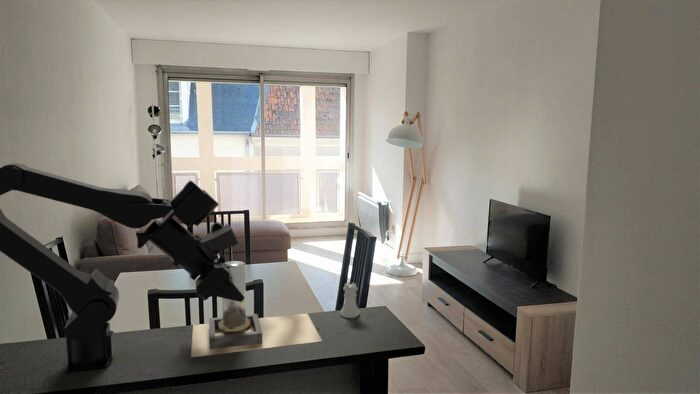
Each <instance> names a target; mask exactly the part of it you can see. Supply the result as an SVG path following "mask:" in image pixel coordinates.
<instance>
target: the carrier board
mask: <svg viewBox="0 0 700 394" xmlns="http://www.w3.org/2000/svg"><path fill="white" fill-rule="evenodd" d="M246 318H248V319H249V320H250V329H249V330H248V331H247V332H245V333H238V334H229V335H225V334H222V333H220V332H219V327H218V324H219V322H220V321H221V320H222V319H223V316H220V317H209V318H208V323H202V324H201V323H200V324H193V325H192V337H191V350H190V352H191V353H190V358H196V357H197V358H198V357H205V356H206V357H207V356H213V355H220V354H229V353H238V352H245V351H246V352H248V351H255V350H263V349H270V348H271V349H272V348H279V347H280V348H281V347H286V346H287V347H288V346H295V345H297V346H298V345H305V344H312V343H318V342H319V343H320V342H323V340H322V338H321V335H320V334H319V333H318V330H317V328H316V327H315V325H314V323H313V321H312V320H311V317H310V316H309V313H299V314H290V315H289V314H287V315H278V316H268V317H259V316H258V314H257V313H250V314H246Z"/></svg>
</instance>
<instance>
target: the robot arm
mask: <svg viewBox="0 0 700 394" xmlns="http://www.w3.org/2000/svg"><path fill="white" fill-rule="evenodd" d="M11 191H17V192H21V193H25V194H29V195H32V196H37V197H41V198H44V199H48V200H51V201H52V200H53V201H56V202H60V203H63V204H68V205H71V206H76V207H79V208H82V209H87V210H90V211H94V212H96V213H98V214H100V215H102V216H104V217H105V218H107V219H109V220H111V221H113V222H115V223H118V224H119V225H123V226H124V227H127V228H130V229H136V233H135V236H136V239H137V245H136V248H137V249H142V248H143V247H144V246H145V245H146V244H147V243H148V242H149V243H151V244H152V245H153V246H155V248H157V249H158V250H159V251H161V252H162V253H163V254H164V255H166V256H167V257H168V258H169V259H171V263H172V265H175V266H176V267H178V266H179V267H180V268H182V269H183V270H184V271H185V272H187V273H188V274H189V278H190V279H192V280H193V281H195V282H194V283H195V287H194V288H195V294H196V295H197V296H198V297H199V298H200V299H202V300H203V301H204V302H205V301H207V300H208V299H209V298H210V297H211V296H212V297H217V298H226V299H230V300H234V301H239V302H242V301H243V300H244V298H245V297H244V296H243V295H242V293H241V292H240V291H239V290H238V288H237V287H236V286H235V285H234V284H233V282H232V281H231V280H230V279H229V275H230V270H229V268H228V266H227V267H226V266H225V265H223V263H225V262H226V258H225V256H224V254H222V252H223V251H225V250H227V249H228V248H230V247H234V246H236V245H238V244H239V240H238V238H237V236H236V234H235V232H234V230H233V229H232V226H231V225H230V224H225V225H223V224H221V223H220V222H218V221H217V222H215V223H212V224H210V232H209V233H208V232H207V235H205V236H203V237H202V236H200V235H199V234H198V233H196V234H195V233H194V234H193V233H191V232H190V231H189V230H188V229H187V228H186V227H189V228H190V227H194V225H195V226H196V227H199V226H200V225H201V224H202V223H203V222H204V220H205V219H207V217H209V216H210V214H212V212H213V211H215V209H216V208H217V207H218V206H220V204H219V203H218V201H216V200H215V199H214V198H213V196H211V195H210V194H209V193H208V192H207V191H206V190H204V189H202V188H201V187H200V186H198V184H196V183H195V182H194V181H192V180H188V181H187V182H186V183H185V185H183V188H182V189H181V190H180V191H179V192H177V193H176V195H175V196H174V197H172V199H166V198H157V197H152V196H151V195H149V194H148V193H146V192H145V191H140V190H138V191H137V190H131V189H123V188H121V189H120V188H107V187H106V188H105V187H100V186H97V185H93V184H90V183H86V182H82V181H79V180H75V179H72V178H69V177H64V176H61V175H58V174H57V175H56V174H54V173H50V172H46V171H43V170H39V169H36V168H32V167H29V166H27V165H26V164H24V163H18V162H15V163H10V164H6V165H3V166H2V167H0V196H2V195H4V194H7V193H9V192H11ZM3 212H4V211H2V209H1V208H0V252H1V254H3V255H5V256H6V257H8V258H9V259H10V260H12V261H13V262H15V263H16V264H18V266H21V267H22V268H23V269H25V270H26V271H27V272H29V273H30V274H32V275H33V276H35V277H36V278H38V279H40V280H41V281H42V282H44V283H45V284H46V285H47V286H49V287H51V288H52V289H53V290H55V291H56V292H58V294H59V295H60V296H61V297H62V298H63V300H64V302H65V303H66V305H67V306H68V308H69V309H70V310H71V314H70V316H69V318H68V319H67V322H66V324H65V326H64V328H63V332H64V334H65V342H66V359H67V364H66V366H65V368H64V372H65V373H66V372H67V373H68V372H75V371H85V370H92V369H93V370H94V369H101V368H107V367H108V366H109V363H110V360H111V359H113V357H114V355H115V352H116V350H115V349H116V348H115V347H116V346H115V333H114V331H113V330H111V324H110V321H111V320H112V319H113V318H114V316H115V315H116V311H117V308H118V305H119V300H120V293H119V289H118V288H117V286H116V285H115V283H116V281H115V280H113V279H110V278H108V277H107V276H106V275H104V273H103V272H102V271H101V270H100V269H98V268H96V269H94V270H93V272H92V273H88V272H84V271H81V270H78V269H77V268H76V267H74V266H73V265H72V264H70V263H69V262H68V261H67V260H65V259H64V258H62V257H61V256H59V254H57V253H55V252H54V251H53V250H51V249H50V248H48V247H47V246H46V245H44V244H43V243H41V241H39V240H38V239H36V238H35V237H33V236H32V235H31V234H29V233H28V232H27V231H25V230H24V229H22V228H21V227H20V226H19V225H17V224H15V223H14V222H13V221H12V220H10V219H9V218H8V217H7V216H6V215H5V214H4V213H3ZM174 216H175V217H176V218H177V219H178V220H179V221H180V222H181V223H183V224H184V225H185V226H186V227H184V225H182V224H181V223H179V221H177V220H176V219H175V218H174ZM158 219H162V220H160V221H159V220H158ZM151 221H152V222H151ZM149 223H150V224H149ZM148 224H149V225H148ZM146 226H147V227H146ZM143 227H146V228H145V229H144V230H137V229H142V228H143ZM220 254H222V255H221V256H220V257H219V256H218V255H220Z"/></svg>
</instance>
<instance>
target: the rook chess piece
mask: <svg viewBox="0 0 700 394" xmlns="http://www.w3.org/2000/svg"><path fill="white" fill-rule="evenodd" d="M342 289H343V291H344V294H343V296H344V303H343V307H342V308H341V310H340V315H341V316H342V317H344V318H345V319H355V318H357V317H358V316H360V314H361V313H360V310H359V307H358V306H357V298H356V297H357V293H356V292H357V291H358V289H359V287H358V286H357V283H356V282H355V283H354V282H351V283H350V281H349V282H346V283H344V287H343V288H342Z"/></svg>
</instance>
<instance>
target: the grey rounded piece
mask: <svg viewBox="0 0 700 394" xmlns="http://www.w3.org/2000/svg"><path fill="white" fill-rule="evenodd" d="M223 265H225V266H226V267H227V266H228V268H229V270H230V275H229V279H230V280H231V281H232V282H233V284H234V285H235V286H236V287H237V288H238V290H239V291H240V292H241V293H242V295H243V296H244V297H245V298H244V300H243V301H242V302H239V301H234V300H230V299H226V298H222V299H221V300H222V301H221V302H222V306H221V308H222V310H221V311H222V317H223V319H222V320H221V321H220V322H219V324H218V327H219V332H220V333H222V334H225V335H229V334H238V333H245V332H247V331H248V330H249V329H250V320H249V319H248V318H246V315H247V311H246V310H247V308H246V303H247V302H246V263H245V262H244V261H238V260H230V261H225V263H223Z"/></svg>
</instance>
